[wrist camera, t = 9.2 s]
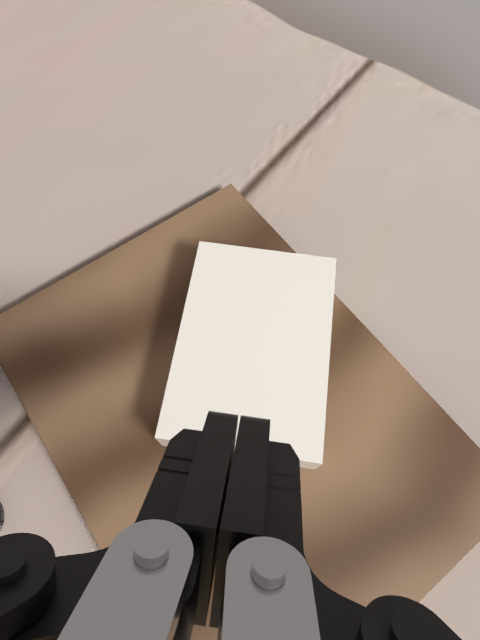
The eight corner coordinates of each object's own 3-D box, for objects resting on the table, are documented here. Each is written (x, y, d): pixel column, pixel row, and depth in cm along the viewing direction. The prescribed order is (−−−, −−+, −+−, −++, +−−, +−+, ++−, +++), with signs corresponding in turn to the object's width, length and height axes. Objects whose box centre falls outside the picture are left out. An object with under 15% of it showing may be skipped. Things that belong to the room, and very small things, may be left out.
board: (-11, 333, 24) (-20, 325, 23) (231, 194, 28) (230, 183, 27) (230, 775, 16) (229, 790, 15) (511, 497, 20) (524, 496, 19)
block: (322, 463, 18) (336, 258, 22) (154, 437, 18) (199, 241, 23) (314, 469, 20) (328, 279, 24) (162, 445, 20) (202, 262, 24)
